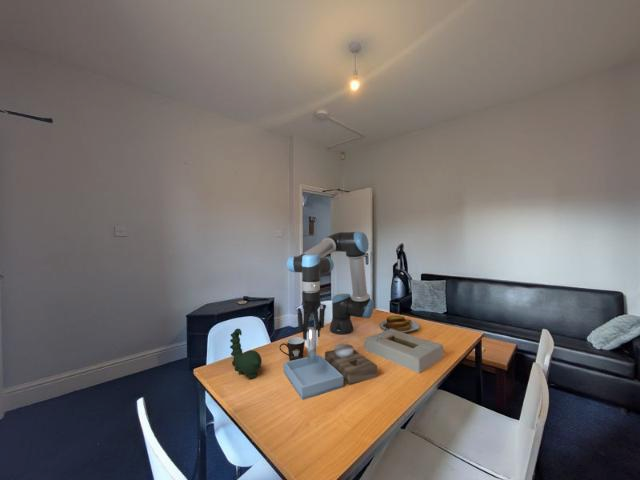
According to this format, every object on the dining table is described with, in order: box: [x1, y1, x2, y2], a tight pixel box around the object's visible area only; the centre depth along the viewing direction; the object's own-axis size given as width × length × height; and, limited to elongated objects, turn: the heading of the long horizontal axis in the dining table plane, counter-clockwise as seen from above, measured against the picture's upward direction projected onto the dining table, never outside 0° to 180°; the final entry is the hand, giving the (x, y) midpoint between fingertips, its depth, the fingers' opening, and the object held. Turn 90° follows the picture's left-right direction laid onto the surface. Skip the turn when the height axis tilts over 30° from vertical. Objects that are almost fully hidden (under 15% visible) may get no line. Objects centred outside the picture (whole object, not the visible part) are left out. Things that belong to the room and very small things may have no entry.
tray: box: [283, 354, 344, 401], centre depth 111 cm, size 22×18×4 cm
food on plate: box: [379, 315, 421, 334], centre depth 173 cm, size 25×25×7 cm
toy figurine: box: [229, 328, 262, 380], centre depth 118 cm, size 9×19×25 cm
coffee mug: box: [279, 336, 305, 361], centre depth 129 cm, size 12×9×10 cm
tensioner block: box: [324, 343, 378, 386], centre depth 120 cm, size 22×14×8 cm, turn 26°
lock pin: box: [306, 326, 317, 363], centre depth 111 cm, size 4×4×14 cm
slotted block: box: [364, 329, 444, 374], centre depth 135 cm, size 23×8×32 cm
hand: (311, 345), depth 111 cm, fingers closed on lock pin, 3 cm apart
